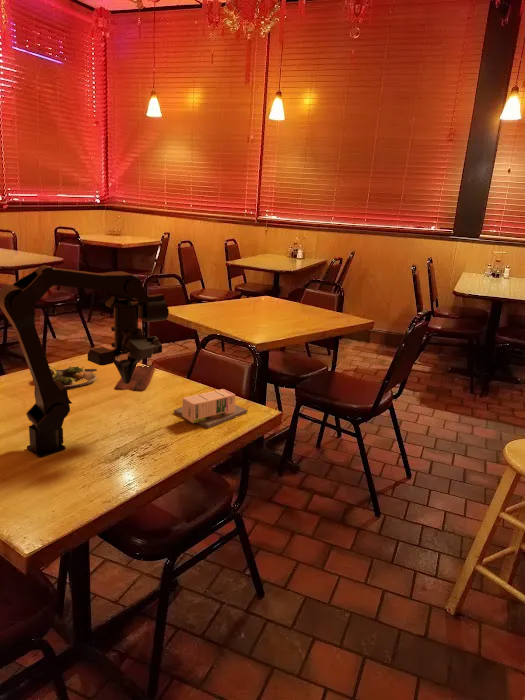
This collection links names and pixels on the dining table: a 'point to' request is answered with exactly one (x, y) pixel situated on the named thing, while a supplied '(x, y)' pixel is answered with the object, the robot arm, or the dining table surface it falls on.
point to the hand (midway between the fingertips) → (126, 383)
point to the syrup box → (208, 405)
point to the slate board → (217, 420)
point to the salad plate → (73, 376)
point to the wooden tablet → (138, 379)
